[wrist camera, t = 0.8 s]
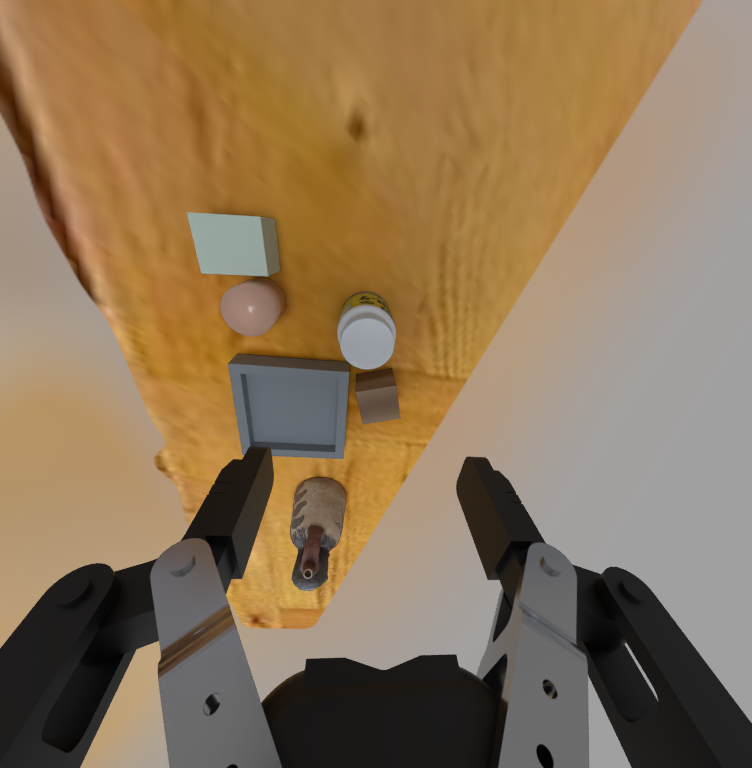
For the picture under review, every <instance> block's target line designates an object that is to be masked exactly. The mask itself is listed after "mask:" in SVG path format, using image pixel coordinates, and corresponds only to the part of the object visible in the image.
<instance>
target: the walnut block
mask: <svg viewBox="0 0 752 768" xmlns="http://www.w3.org/2000/svg"><path fill="white" fill-rule="evenodd" d="M356 396H357V400H358V405H359V409H360V414H361V418H362V423H363V424H369V423H375V422H382V421H388V420H394V419H401V418H400V411H399V403H398V396H397V389H396V383H395V379H394V375H393V371H392V368H391V369H385V370H379V371H372V372H366V373H360V374H356Z"/></svg>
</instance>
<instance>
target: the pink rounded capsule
mask: <svg viewBox="0 0 752 768" xmlns="http://www.w3.org/2000/svg"><path fill="white" fill-rule="evenodd" d="M285 308H286V296H285V293H284V291H283V290H282V288H281V287H280V286H279V285H278V284H277V283H276V282H275V281H273V280H271V279H269V278H266V277H256V278H253V279H250V280H248V281H245V282H243V283H241V284H238V285H236V286H234V287H231V288H230V289H228V290H227V291H226V292H225V293H224V295H223V296H222V299H221V304H220V309H221V313H222V316H223V318H224V320H225V322H226V323H227V324H228V325H229V327H230V328H232V329H233V330H234V331H236V332H238V333H239V334H242V335H245V336H259V335H262V334H264V333H266V332H267V331H268V330H269V329H270V328H271V327H272V325H273V324H274V323H275V322H276V321H277V320H278V318H279V317H280V316H281V315H282V314H283V312H284V310H285Z"/></svg>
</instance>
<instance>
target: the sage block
mask: <svg viewBox="0 0 752 768" xmlns="http://www.w3.org/2000/svg"><path fill="white" fill-rule="evenodd" d="M187 215H188V219H189V223H190V227H191V232H192V236H193V240H194V244H195V249H196V253H197V257H198V261H199V265H200V270H201V273H203V274H226V275H249V276H270V275H272V274H274V273H276V272H278V271H280V262H279V253H278V244H277V235H276V226H275V219H271V218H265V217H257V216H240V215H223V214H206V213H189V212H187Z"/></svg>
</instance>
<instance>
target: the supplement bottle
mask: <svg viewBox="0 0 752 768" xmlns="http://www.w3.org/2000/svg"><path fill="white" fill-rule="evenodd" d="M337 337H338V342H339V344H340V348H341V352H342V354H343V356H344V358H345V359H346V360H347V361H348V362H349V363H350V364H351V365H353V366H355V367H357V368H360V369H374V368H377V367H380V366H382V365H383V364H385V363H386V362H387V361H388V360H389V358H390V357H391V355H392V353H393V350H394V343H395V340H396V328H395V324H394V321H393V319H392V316H391V313H390V311H389V308H388V306H387V304H386V302H385V301H384V300H383V299H382V298H381V297H380V296H378V295H376V294H374V293H371V292H359V293H356V294H354V295H352V296H351V297H350V298H349V299H348V300H347V301H346V302H345V304H344V306H343V309H342V312H341V316H340V320H339V324H338V328H337Z"/></svg>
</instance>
